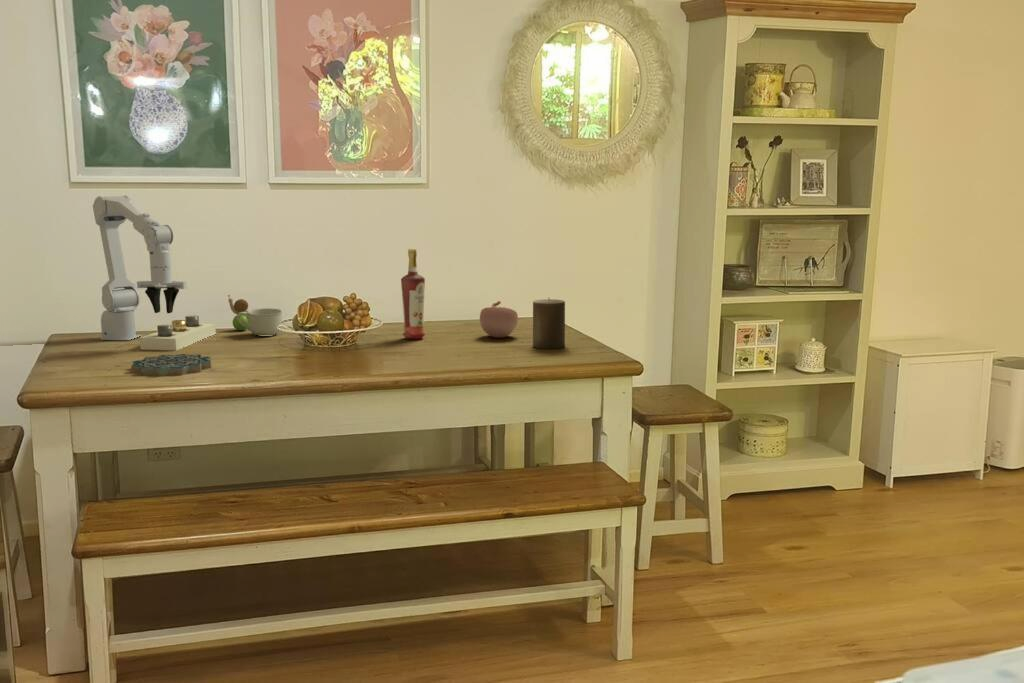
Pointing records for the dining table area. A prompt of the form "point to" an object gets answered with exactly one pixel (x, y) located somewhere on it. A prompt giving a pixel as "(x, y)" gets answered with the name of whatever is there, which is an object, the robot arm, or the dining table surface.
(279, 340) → the dining table surface
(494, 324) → the pink decorative apple
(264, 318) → the teacup
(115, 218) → the robot arm
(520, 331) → the dining table surface
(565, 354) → the dining table surface
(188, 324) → the knob far
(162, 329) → the knob near
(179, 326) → the knob brass
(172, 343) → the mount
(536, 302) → the pillar candle
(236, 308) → the snail figurine
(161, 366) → the decorative tile
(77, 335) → the dining table surface
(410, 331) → the liquor
